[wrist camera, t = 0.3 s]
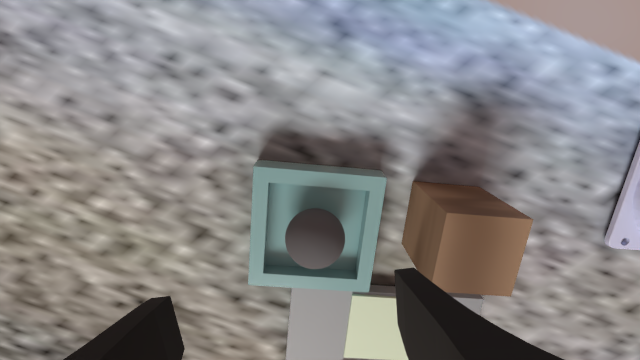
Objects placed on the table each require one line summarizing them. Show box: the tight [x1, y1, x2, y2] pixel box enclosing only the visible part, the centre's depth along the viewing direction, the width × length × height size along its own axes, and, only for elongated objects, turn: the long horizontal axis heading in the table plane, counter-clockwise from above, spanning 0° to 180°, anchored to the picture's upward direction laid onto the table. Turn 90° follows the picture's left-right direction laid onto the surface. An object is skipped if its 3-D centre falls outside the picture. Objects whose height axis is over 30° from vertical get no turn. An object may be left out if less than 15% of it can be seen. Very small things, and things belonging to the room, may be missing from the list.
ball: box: [285, 208, 345, 269], centre depth 18 cm, size 3×3×3 cm
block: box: [402, 181, 533, 296], centre depth 18 cm, size 4×4×5 cm
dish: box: [248, 160, 387, 292], centre depth 19 cm, size 7×7×2 cm
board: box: [286, 285, 484, 360], centre depth 22 cm, size 12×10×1 cm
